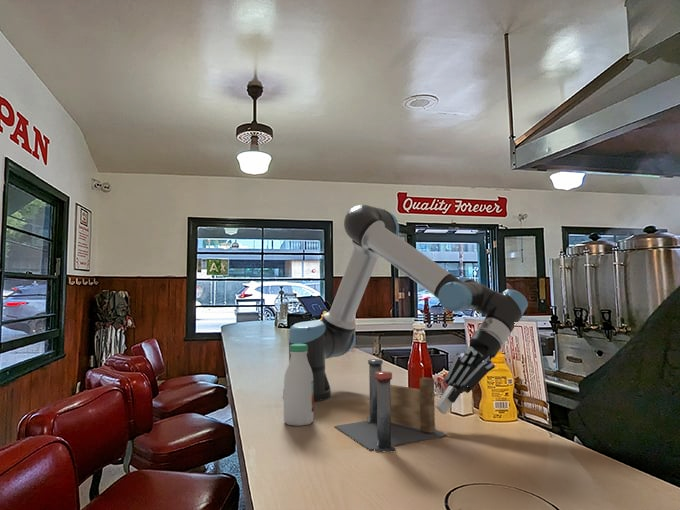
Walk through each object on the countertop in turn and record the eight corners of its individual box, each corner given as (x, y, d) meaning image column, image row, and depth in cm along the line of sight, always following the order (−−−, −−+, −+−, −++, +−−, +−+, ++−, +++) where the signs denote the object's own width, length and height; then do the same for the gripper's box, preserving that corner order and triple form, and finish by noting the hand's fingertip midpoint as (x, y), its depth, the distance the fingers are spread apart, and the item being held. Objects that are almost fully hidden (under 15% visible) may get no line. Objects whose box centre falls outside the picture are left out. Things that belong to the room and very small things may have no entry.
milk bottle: (309, 427, 113) (309, 346, 114) (279, 425, 115) (280, 346, 116) (316, 418, 121) (316, 342, 122) (289, 416, 122) (289, 342, 123)
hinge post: (366, 419, 120) (366, 359, 121) (383, 419, 120) (382, 358, 121) (368, 424, 115) (367, 361, 116) (385, 424, 115) (384, 361, 116)
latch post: (373, 444, 101) (372, 371, 102) (392, 444, 101) (392, 370, 102) (375, 451, 97) (374, 375, 98) (395, 451, 97) (394, 374, 98)
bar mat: (334, 427, 113) (334, 425, 113) (404, 416, 122) (404, 414, 122) (370, 450, 97) (370, 449, 97) (447, 436, 106) (447, 434, 106)
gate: (380, 421, 115) (379, 373, 116) (385, 419, 117) (385, 371, 118) (431, 433, 106) (430, 380, 107) (436, 430, 108) (435, 378, 109)
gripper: (464, 326, 125) (415, 394, 117) (499, 331, 113) (448, 407, 105) (479, 345, 127) (432, 413, 119) (515, 351, 115) (466, 427, 107)
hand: (439, 410), depth 112 cm, fingers closed
